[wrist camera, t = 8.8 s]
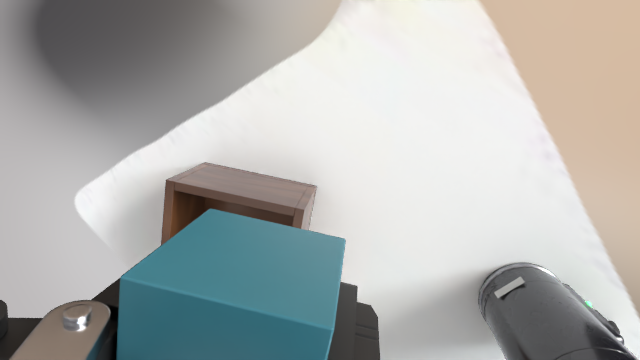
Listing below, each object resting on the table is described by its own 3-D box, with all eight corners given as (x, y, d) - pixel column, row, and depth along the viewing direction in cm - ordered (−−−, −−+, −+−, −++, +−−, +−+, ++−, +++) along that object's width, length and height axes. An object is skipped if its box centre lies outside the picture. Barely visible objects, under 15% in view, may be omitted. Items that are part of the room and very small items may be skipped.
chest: (205, 162, 44) (165, 179, 35) (317, 185, 43) (304, 209, 34) (192, 284, 48) (154, 326, 39) (293, 308, 47) (277, 357, 38)
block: (346, 238, 11) (334, 329, 7) (319, 355, 13) (295, 495, 8) (209, 207, 12) (118, 276, 7) (196, 324, 13) (110, 444, 9)
